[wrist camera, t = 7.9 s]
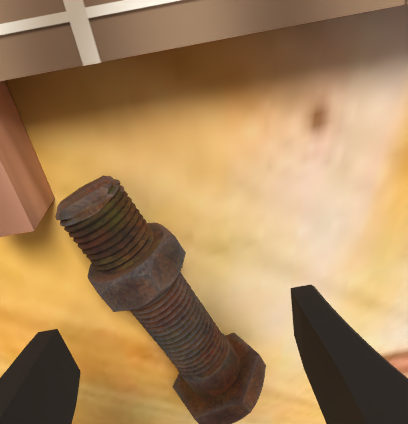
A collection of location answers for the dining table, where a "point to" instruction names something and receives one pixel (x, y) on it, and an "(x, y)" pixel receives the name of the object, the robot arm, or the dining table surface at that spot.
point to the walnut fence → (110, 50)
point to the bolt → (162, 300)
